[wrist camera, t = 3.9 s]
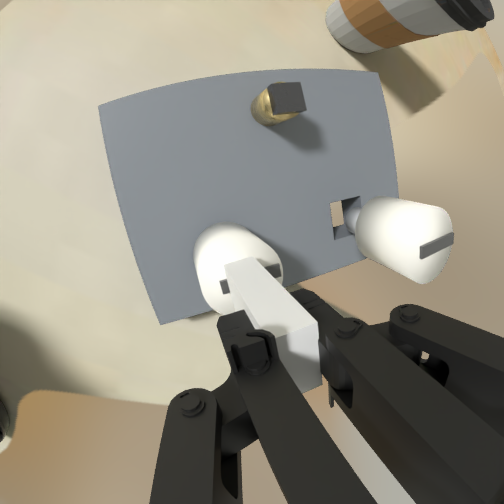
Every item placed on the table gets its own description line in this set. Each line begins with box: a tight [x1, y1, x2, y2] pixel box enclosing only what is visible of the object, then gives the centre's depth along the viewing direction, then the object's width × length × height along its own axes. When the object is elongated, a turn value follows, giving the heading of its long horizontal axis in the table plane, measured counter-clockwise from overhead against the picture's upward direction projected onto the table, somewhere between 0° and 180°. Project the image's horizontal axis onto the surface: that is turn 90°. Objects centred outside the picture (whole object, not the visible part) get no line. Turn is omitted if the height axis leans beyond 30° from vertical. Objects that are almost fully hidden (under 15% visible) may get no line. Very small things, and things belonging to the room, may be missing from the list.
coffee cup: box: [326, 0, 494, 53], centre depth 12 cm, size 8×8×15 cm
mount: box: [98, 69, 399, 325], centre depth 20 cm, size 22×16×3 cm
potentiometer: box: [251, 82, 307, 126], centre depth 15 cm, size 2×2×4 cm
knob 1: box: [193, 222, 283, 315], centre depth 18 cm, size 4×4×8 cm
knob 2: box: [345, 196, 454, 284], centre depth 17 cm, size 4×4×8 cm
